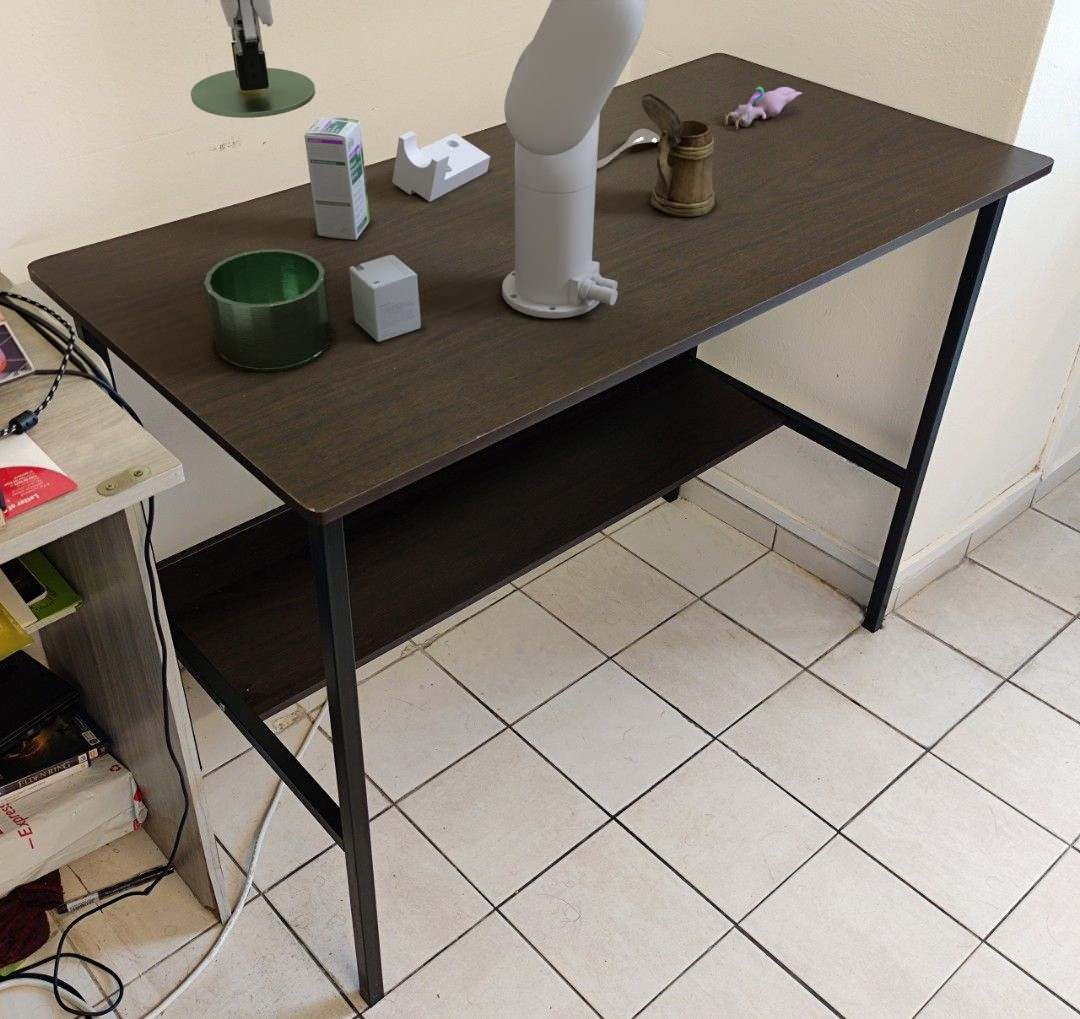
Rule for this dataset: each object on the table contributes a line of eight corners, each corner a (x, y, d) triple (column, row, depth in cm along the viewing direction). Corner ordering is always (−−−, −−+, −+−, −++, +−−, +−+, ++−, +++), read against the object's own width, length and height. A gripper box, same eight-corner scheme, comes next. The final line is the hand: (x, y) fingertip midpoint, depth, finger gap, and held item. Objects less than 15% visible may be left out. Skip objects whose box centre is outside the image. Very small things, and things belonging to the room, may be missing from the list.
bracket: (428, 207, 169) (436, 161, 163) (392, 182, 171) (399, 136, 165) (485, 177, 177) (495, 132, 171) (450, 153, 179) (458, 108, 173)
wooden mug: (616, 212, 167) (623, 84, 155) (679, 184, 174) (691, 60, 162) (663, 234, 162) (674, 103, 150) (726, 204, 169) (742, 78, 157)
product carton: (422, 328, 142) (418, 273, 137) (376, 343, 139) (372, 287, 134) (397, 307, 146) (393, 252, 141) (353, 321, 143) (347, 266, 138)
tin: (354, 332, 141) (347, 267, 136) (281, 384, 132) (271, 318, 127) (268, 301, 146) (259, 238, 141) (192, 350, 137) (179, 285, 132)
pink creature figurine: (743, 142, 190) (811, 107, 195) (743, 107, 185) (813, 72, 190) (717, 129, 193) (784, 95, 199) (716, 94, 189) (785, 61, 194)
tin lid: (340, 93, 139) (335, 39, 135) (261, 132, 130) (253, 76, 126) (248, 69, 144) (241, 17, 140) (166, 106, 135) (155, 51, 131)
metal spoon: (575, 156, 171) (553, 146, 174) (573, 180, 173) (552, 169, 176) (671, 130, 182) (650, 121, 185) (668, 153, 184) (647, 144, 187)
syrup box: (357, 241, 159) (347, 136, 150) (315, 236, 160) (303, 131, 150) (370, 222, 163) (362, 118, 154) (329, 217, 164) (318, 114, 155)
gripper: (275, -75, 119) (296, 105, 131) (254, -113, 131) (275, 56, 143) (199, -70, 117) (227, 112, 129) (185, -109, 129) (212, 61, 141)
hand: (252, 81), depth 136 cm, fingers closed on tin lid, 3 cm apart
